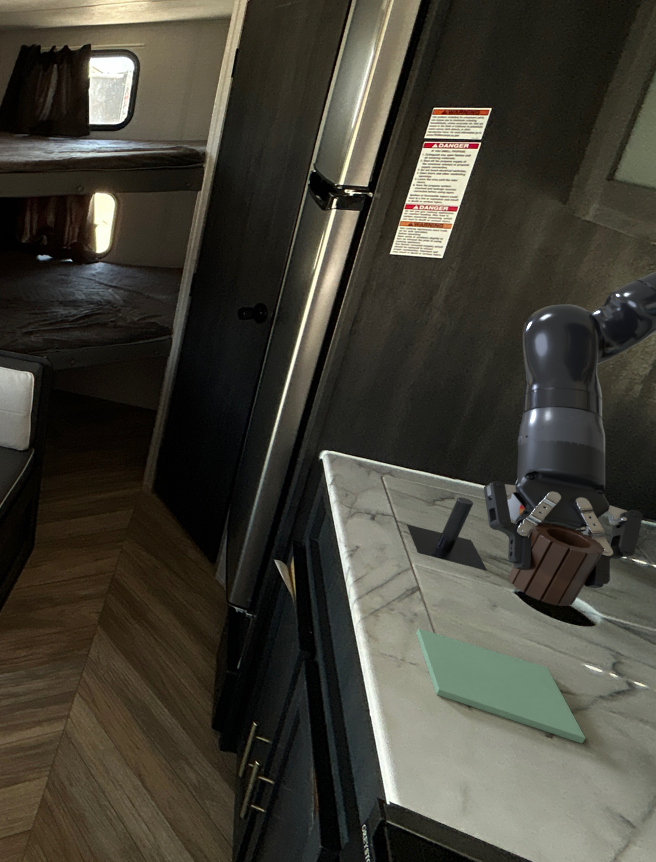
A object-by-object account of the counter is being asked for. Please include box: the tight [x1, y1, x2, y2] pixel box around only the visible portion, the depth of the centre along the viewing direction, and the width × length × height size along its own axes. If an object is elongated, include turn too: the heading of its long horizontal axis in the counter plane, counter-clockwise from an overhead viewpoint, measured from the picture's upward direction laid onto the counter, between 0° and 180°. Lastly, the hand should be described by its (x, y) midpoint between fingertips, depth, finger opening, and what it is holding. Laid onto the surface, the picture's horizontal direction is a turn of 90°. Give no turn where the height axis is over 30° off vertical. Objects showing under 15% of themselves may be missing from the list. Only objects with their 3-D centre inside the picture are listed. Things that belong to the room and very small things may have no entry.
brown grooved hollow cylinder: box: [508, 523, 604, 607], centre depth 78 cm, size 6×6×8 cm
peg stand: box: [406, 496, 488, 571], centre depth 108 cm, size 9×9×11 cm
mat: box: [415, 628, 586, 744], centre depth 85 cm, size 14×12×1 cm
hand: (557, 577), depth 77 cm, fingers closed on brown grooved hollow cylinder, 5 cm apart
